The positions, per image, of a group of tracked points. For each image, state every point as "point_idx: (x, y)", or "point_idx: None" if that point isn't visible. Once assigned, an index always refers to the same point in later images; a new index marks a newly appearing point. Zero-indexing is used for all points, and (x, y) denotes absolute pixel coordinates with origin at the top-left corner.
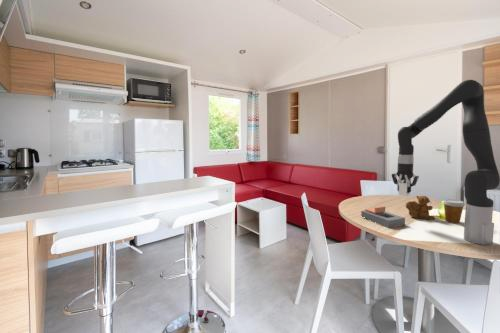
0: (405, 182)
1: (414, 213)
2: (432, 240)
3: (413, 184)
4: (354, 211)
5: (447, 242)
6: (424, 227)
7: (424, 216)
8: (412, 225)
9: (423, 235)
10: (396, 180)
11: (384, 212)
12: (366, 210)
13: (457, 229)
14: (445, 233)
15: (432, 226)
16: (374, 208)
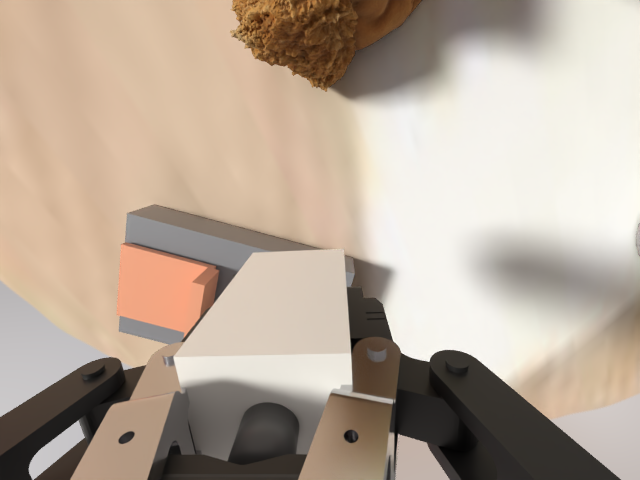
0: (294, 447)
1: (334, 77)
2: (519, 366)
3: (478, 460)
4: (40, 242)
5: (574, 345)
6: (441, 218)
7: (389, 32)
8: (383, 235)
9: (473, 337)
10: (55, 425)
11: (214, 258)
12: (133, 315)
13: (597, 99)
14: (549, 232)
15: (469, 162)
16: (133, 254)
